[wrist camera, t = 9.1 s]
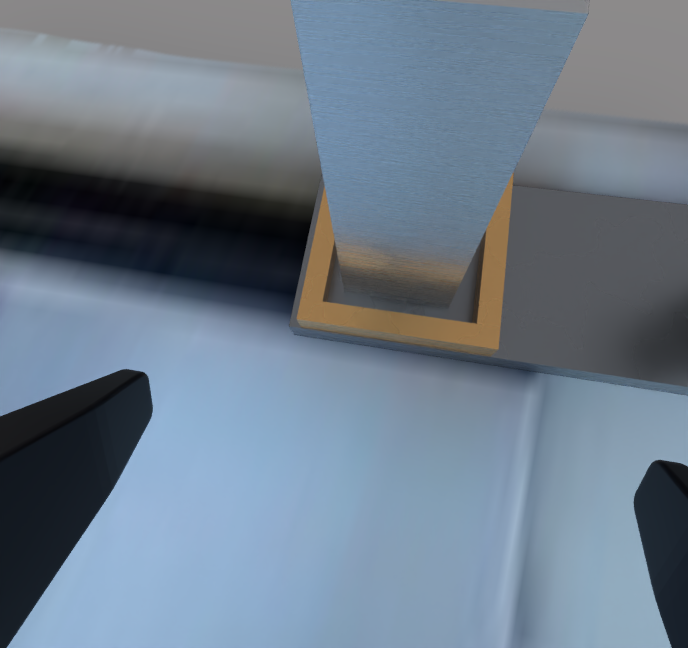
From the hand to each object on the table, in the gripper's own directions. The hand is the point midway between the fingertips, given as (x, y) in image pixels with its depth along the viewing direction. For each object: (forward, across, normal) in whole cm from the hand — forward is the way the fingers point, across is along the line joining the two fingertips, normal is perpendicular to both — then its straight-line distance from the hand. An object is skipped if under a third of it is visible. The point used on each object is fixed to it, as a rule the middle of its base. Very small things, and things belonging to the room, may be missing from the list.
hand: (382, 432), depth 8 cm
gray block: (+11, 0, 0) cm, 11 cm away
